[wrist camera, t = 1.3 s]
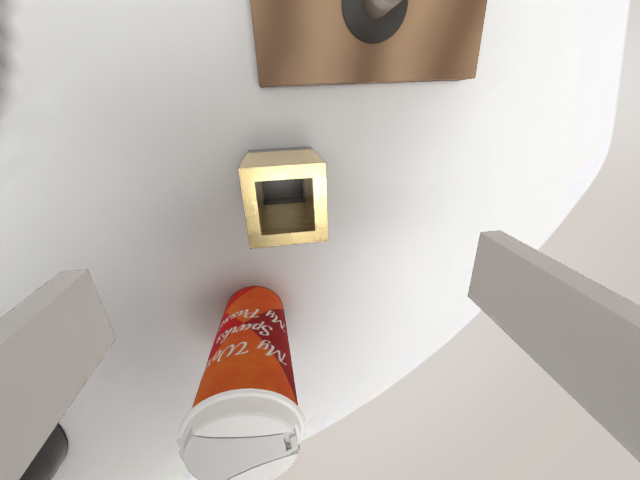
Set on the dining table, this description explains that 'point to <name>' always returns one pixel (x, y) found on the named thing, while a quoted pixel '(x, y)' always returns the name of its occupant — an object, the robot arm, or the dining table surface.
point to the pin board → (366, 41)
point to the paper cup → (245, 397)
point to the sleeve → (289, 213)
